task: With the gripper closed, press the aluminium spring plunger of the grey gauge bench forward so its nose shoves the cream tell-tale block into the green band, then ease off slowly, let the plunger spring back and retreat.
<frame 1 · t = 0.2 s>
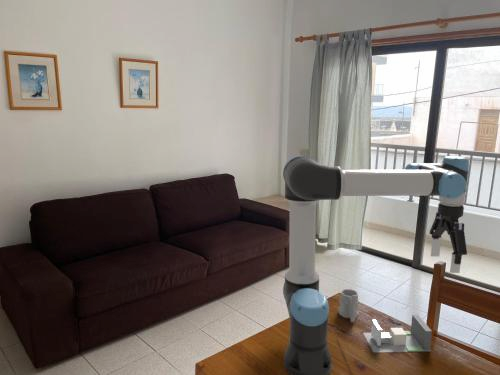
hand: (444, 263, 131), 28 cm above the table, fingers open, 13 cm apart
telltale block: (397, 341, 132), point 1 cm above the table, touching gauge bench
plunger: (375, 345, 132), resting on gauge bench, slide at 0.0 cm
gauge bench: (395, 344, 132), on the table
mug: (349, 319, 148), on the table
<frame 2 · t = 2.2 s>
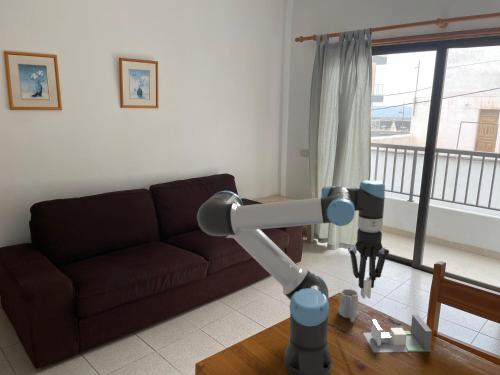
hand: (365, 296, 128), 18 cm above the table, fingers closed
nothing on the table moved.
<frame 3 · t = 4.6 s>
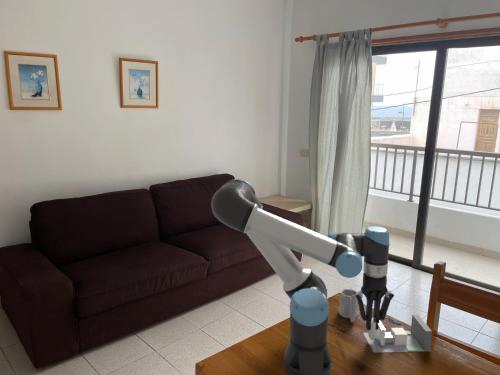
hand: (371, 337, 131), 3 cm above the table, fingers closed
plunger: (378, 345, 132), resting on gauge bench, slide at 1.2 cm, touching gripper
everything else where it was.
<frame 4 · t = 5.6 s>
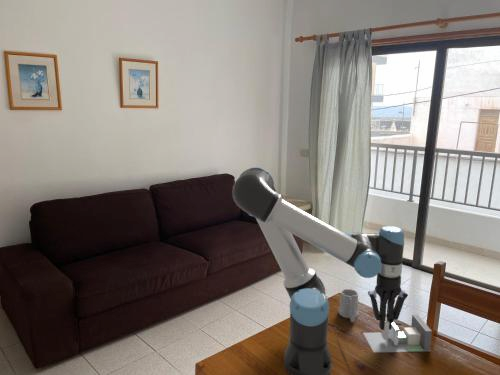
hand: (384, 337, 131), 3 cm above the table, fingers closed
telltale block: (411, 341, 132), point 1 cm above the table
plunger: (392, 344, 132), resting on gauge bench, slide at 5.8 cm, touching gripper
everything else where it was.
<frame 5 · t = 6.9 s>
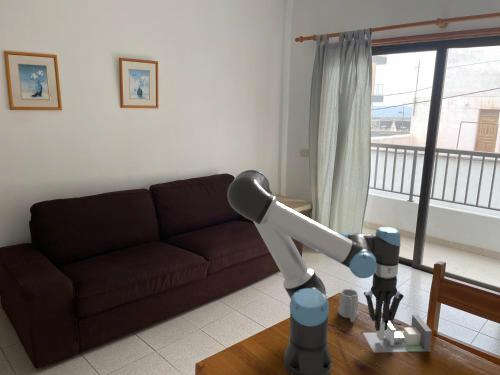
hand: (380, 337, 131), 3 cm above the table, fingers closed
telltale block: (411, 341, 132), point 1 cm above the table, touching gauge bench
plunger: (388, 344, 132), resting on gauge bench, slide at 4.4 cm, touching gripper
everything else where it was.
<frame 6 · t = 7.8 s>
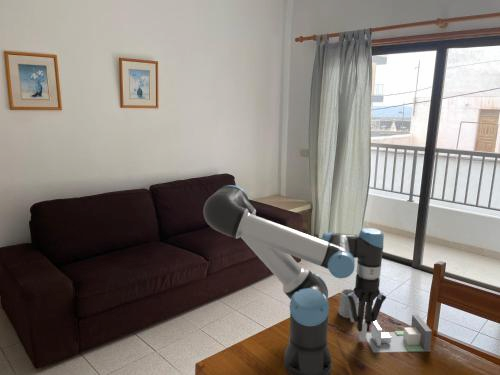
hand: (362, 338, 131), 2 cm above the table, fingers closed
plunger: (375, 345, 132), resting on gauge bench, slide at 0.0 cm
everything else where it was.
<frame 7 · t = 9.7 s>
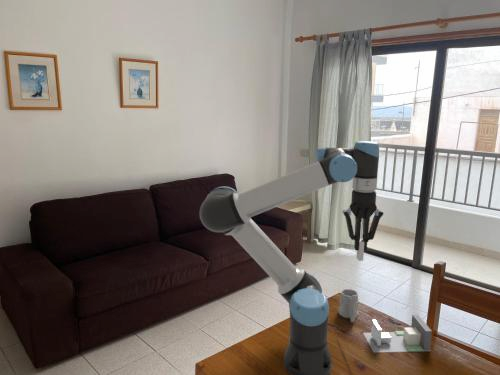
hand: (359, 259, 128), 31 cm above the table, fingers closed
nothing on the table moved.
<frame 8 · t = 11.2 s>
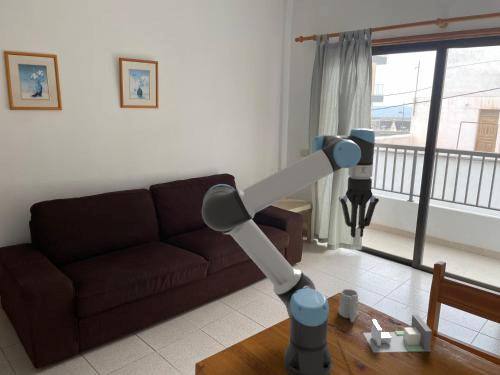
hand: (356, 245, 129), 34 cm above the table, fingers closed
nothing on the table moved.
at the end: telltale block 0.5 cm from the target spot, point 1.2 cm above the table; plunger slide at 0.0 cm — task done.
